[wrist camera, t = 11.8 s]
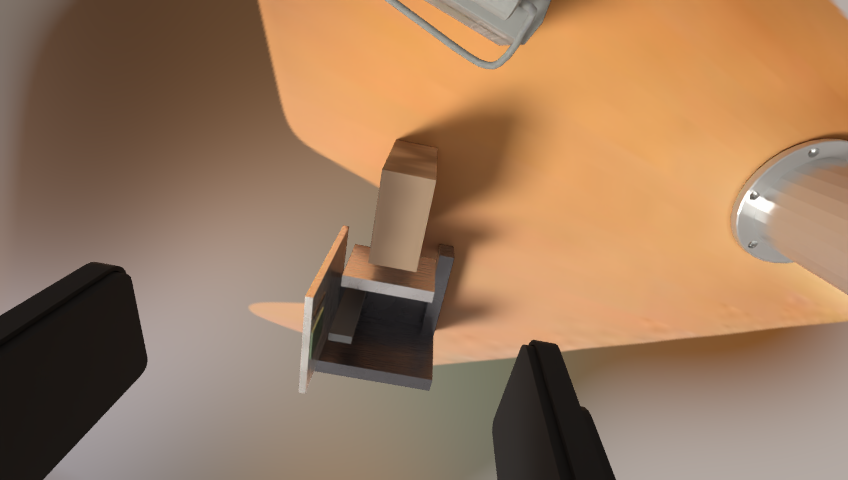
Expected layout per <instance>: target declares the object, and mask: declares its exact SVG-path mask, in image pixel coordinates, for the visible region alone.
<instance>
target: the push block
mask: <svg viewBox="0 0 848 480" xmlns="http://www.w3.org/2000/svg"><path fill="white" fill-rule="evenodd" d="M436 177H437V148H435V147H431V146H426V145H421V144H416V143H411V142H406V141H401V140H396V141H395V143H394V145H393V148H392V150H391V152H390V154H389V156H388V158H387V160H386V163H385V165H384V167H383V169H382V174H381V181H380V188H379V194H378V201H377V208H376V215H375V221H374V228H373V234H372V241H371V248H370V254H369V261H368V263H370V264H375V265H380V266H386V267H391V268H396V269H402V270H407V271H412V272H416V271H417V267H418V262H419V258H420V253H421V248H422V244H423V239H424V235H425V230H426V226H427V221H428V217H429V212H430V207H431V203H432V198H433V194H434V189H435V185H436Z"/></svg>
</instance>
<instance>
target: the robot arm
mask: <svg viewBox="0 0 848 480" xmlns="http://www.w3.org/2000/svg"><path fill="white" fill-rule="evenodd" d="M731 229H732V233H733V237H734V238H735V240H736V242H737V244H738V245H739V246H740V247H741V248H742V249H743V250H745V251H746V252H748V253H749V254H751V255H752V256H754V257H756V258H758V259H760V260H763V261H767V262H772V263H791V262H795V263H797V264H798V265H800V266H802V267H803V268H805V269H807V270H808V271H810V272H811V273H813V274H815V275H816V276H818V277H820V278H821V279H823V280H824V281H826V282H828V283H829V284H831V285H833V286H834V287H836V288H838V289H839V290H841V291H842V292H844V293H846V294H847V295H848V141H846V140H841V139H819V140H813V141H808V142H805V143H802V144H799V145H796V146H794V147H791V148H789V149H787V150H785V151H783V152H781V153H780V154H778V155H776V156H775V157H773V158H772V159H770V160H769V161H767V162H766V163H765V164H764V165H763V166H762V167H760V168H759V169H758V170H757V171H756V172H755V173H754V174H753V175H752V176H751V177H750V178H749V180H748V181H747V182H746V183H745V185H744V186H743V188H742V189H741V191H740V192H739V194H738V196H737V198H736V201H735V203H734V205H733V209H732V214H731ZM146 366H147V354H146V349H145V344H144V339H143V334H142V329H141V325H140V319H139V314H138V309H137V304H136V299H135V294H134V289H133V284H132V280H131V277H130V276H129V275H128V274H126V272H125V270H124V269H123V268H122V267H119V266H115V265H109V264H104V263H98V262H90V263H88V264H86V265H84V266H82V267H81V268H79V269H77V270H76V271H74V272H72V273H71V274H69V275H67V276H66V277H64V278H63V279H61V280H59V281H57V282H56V283H54V284H53V285H51V286H49V287H47V288H46V289H44V290H42V291H41V292H39V293H37V294H36V295H34V296H32V297H31V298H29V299H27V300H26V301H24V302H23V303H21V304H19V305H17V306H16V307H14V308H12V309H11V310H9V311H7V312H6V313H4V314H2V315H1V316H0V480H43V479H44V478H45V477H46V476H47V475H48V474H49V473H50V472H51V471H52V469H53V468H54V467H55V466H56V465H57V464H58V463H59V462H60V461H61V460H62V459H63V458H64V457H65V456H66V455H67V453H68V452H69V451H70V450H71V449H72V448H73V447H74V446H75V445H76V444H77V443H78V442H79V441H80V439H82V438H83V436H84V435H85V434H86V433H87V432H88V431H89V430H90V429H91V428H92V427H93V426H94V425H95V424H96V423H97V422H98V420H99V419H100V418H101V417H102V416H103V415H104V414H105V413H106V412H107V411H108V410H109V409H110V407H112V405H114V403H115V402H116V401H117V400H118V399H119V398H120V397H121V396H122V395H123V394H124V393H125V392H126V390H128V389H129V387H130V386H131V385H132V384H133V383H134V382H135V381H136V380H137V379H138V378H139V377H140V376H141V374H142V373H143V372H144V370H145V368H146ZM492 433H493V443H494V453H495V462H496V471H497V480H616V479H615V476H614V474H613V471H612V468H611V466H610V463H609V461H608V458H607V455H606V453H605V450H604V447H603V445H602V442H601V440H600V437H599V434H598V432H597V429H596V427H595V424H594V422H593V419H592V417H591V415H590V413H589V411H588V410H587V409H586V408H585V407H581V406H580V404H579V401H578V399H577V396H576V393H575V390H574V388H573V385H572V382H571V379H570V377H569V374H568V371H567V368H566V366H565V363H564V360H563V358H562V355H561V352H560V349H559V347H558V345H556V344H554V343H548V342H542V341H537V340H532V341H531V342H530V343H529V345H522V347H521V349H520V351H519V354H518V357H517V359H516V362H515V364H514V367H513V370H512V372H511V375H510V378H509V380H508V383H507V386H506V388H505V391H504V394H503V396H502V399H501V402H500V404H499V407H498V409H497V412H496V415H495V418H494V421H493V431H492Z"/></svg>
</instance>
